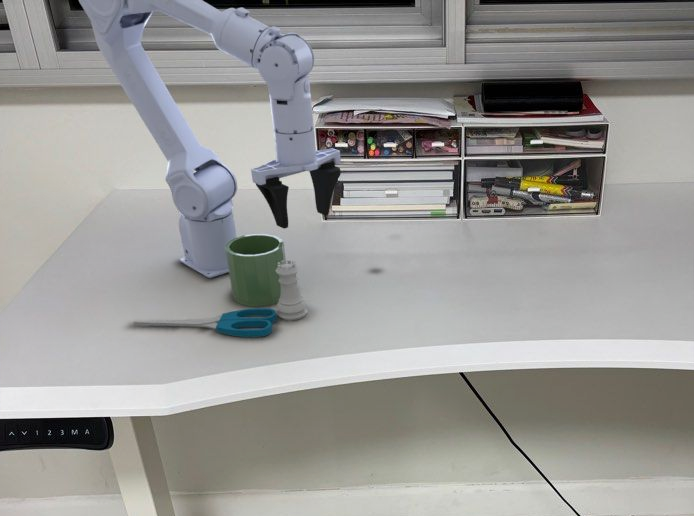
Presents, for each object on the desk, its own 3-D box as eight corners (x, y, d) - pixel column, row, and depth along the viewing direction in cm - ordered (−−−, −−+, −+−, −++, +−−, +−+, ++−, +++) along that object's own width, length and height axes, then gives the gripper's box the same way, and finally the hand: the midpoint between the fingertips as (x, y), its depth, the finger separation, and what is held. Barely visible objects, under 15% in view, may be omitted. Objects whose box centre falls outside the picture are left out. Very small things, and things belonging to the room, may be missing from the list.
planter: (222, 293, 121) (214, 244, 117) (268, 277, 126) (262, 229, 122) (253, 311, 116) (245, 261, 112) (300, 294, 121) (294, 244, 117)
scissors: (269, 330, 109) (124, 331, 109) (270, 336, 110) (126, 337, 110) (277, 308, 115) (140, 309, 115) (278, 313, 115) (142, 315, 115)
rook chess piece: (313, 310, 117) (308, 259, 112) (299, 323, 113) (293, 272, 109) (286, 305, 118) (280, 255, 113) (271, 318, 114) (264, 267, 110)
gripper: (266, 144, 107) (278, 239, 114) (350, 124, 115) (356, 214, 123) (238, 134, 111) (251, 226, 119) (321, 115, 119) (328, 203, 127)
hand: (303, 219), depth 121 cm, fingers open, 7 cm apart
